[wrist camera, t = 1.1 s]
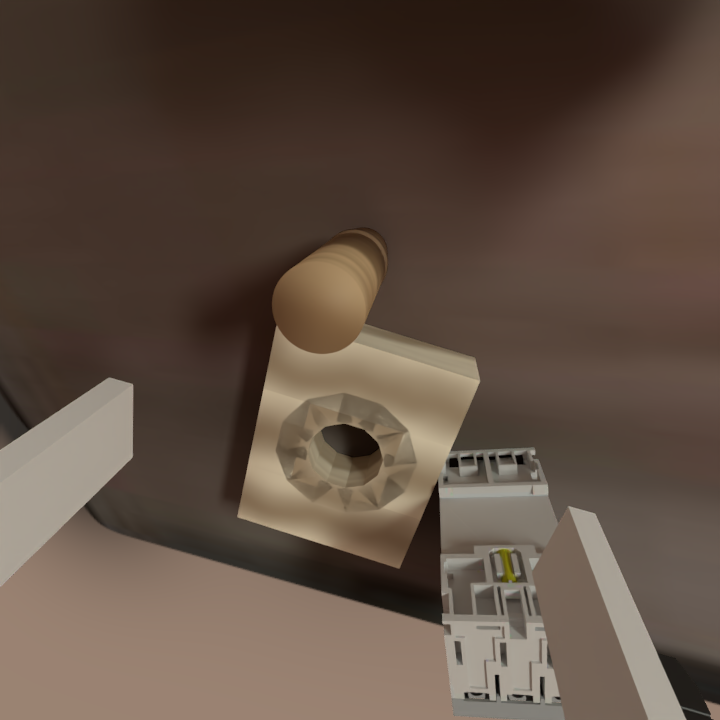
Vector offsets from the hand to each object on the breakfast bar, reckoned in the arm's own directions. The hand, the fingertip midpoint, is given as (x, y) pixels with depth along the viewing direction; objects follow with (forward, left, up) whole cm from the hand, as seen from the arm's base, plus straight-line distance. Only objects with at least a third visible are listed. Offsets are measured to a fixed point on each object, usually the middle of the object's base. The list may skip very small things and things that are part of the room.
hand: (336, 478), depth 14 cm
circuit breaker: (+16, +14, -21) cm, 30 cm away
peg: (-2, -3, -21) cm, 21 cm away
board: (+12, 0, -21) cm, 24 cm away
